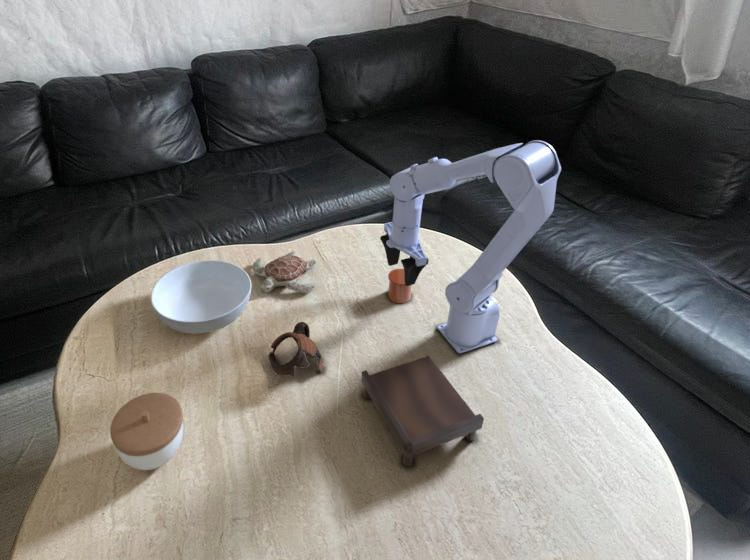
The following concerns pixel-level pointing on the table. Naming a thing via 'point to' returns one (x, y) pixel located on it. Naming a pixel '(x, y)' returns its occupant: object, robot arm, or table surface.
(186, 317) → the serving bowl
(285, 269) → the decorative turtle
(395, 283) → the terracotta pot
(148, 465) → the trinket box
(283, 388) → the table surface
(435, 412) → the footed tray
